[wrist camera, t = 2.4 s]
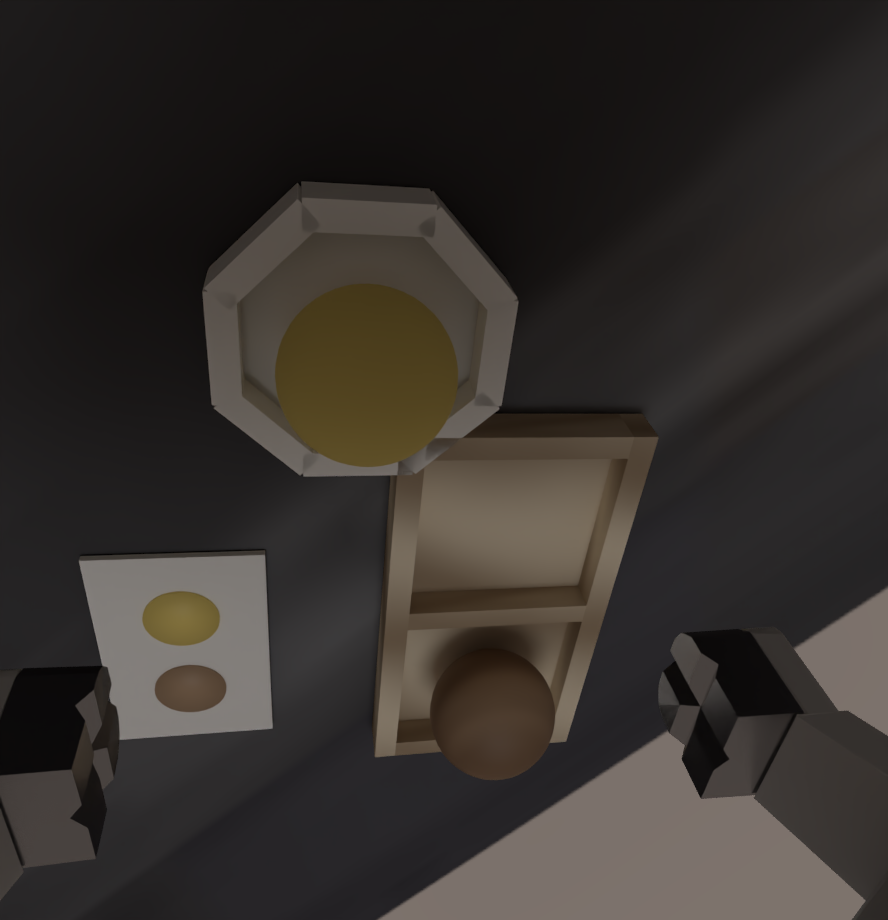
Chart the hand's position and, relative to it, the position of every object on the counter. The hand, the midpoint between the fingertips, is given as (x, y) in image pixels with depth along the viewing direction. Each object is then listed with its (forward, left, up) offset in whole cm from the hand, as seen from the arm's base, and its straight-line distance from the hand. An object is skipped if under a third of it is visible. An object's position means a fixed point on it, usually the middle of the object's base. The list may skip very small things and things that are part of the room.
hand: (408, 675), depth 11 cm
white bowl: (-1, 0, -10) cm, 10 cm away
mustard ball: (-1, 0, -10) cm, 10 cm away
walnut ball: (+11, +4, -10) cm, 16 cm away
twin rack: (+8, +4, -10) cm, 14 cm away
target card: (+10, -5, -10) cm, 15 cm away
